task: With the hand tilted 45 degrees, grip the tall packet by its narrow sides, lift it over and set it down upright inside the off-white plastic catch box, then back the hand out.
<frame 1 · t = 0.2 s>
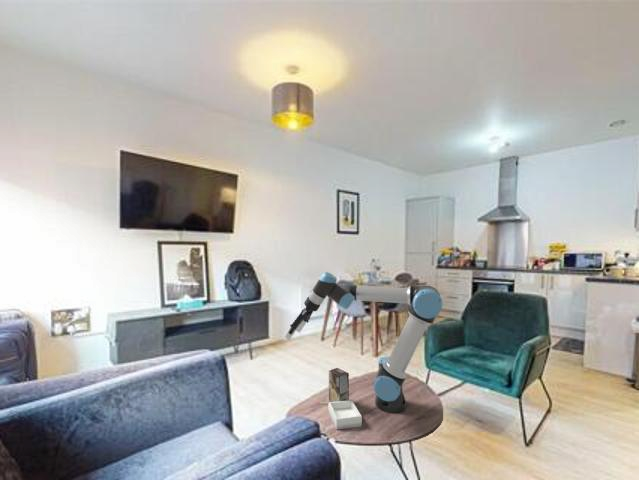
hand: (292, 334, 161), 35 cm above the table, tool tilted 35°, fingers open, 13 cm apart
catch box: (344, 418, 147), on the table
coffee box: (338, 404, 161), on the table
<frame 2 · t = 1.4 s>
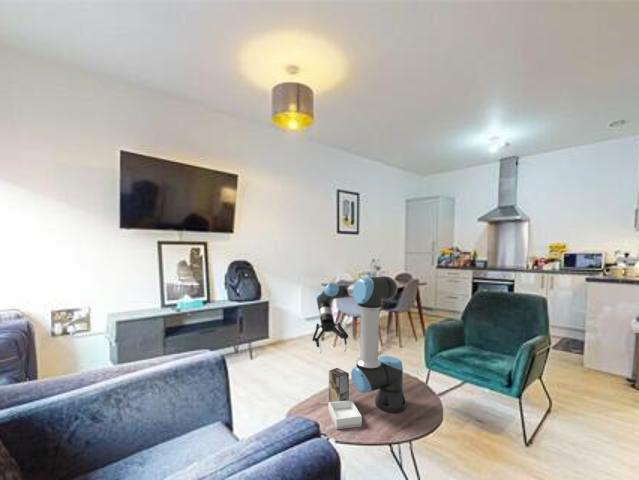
hand: (333, 351, 171), 23 cm above the table, tool tilted 45°, fingers open, 13 cm apart
nothing on the table moved.
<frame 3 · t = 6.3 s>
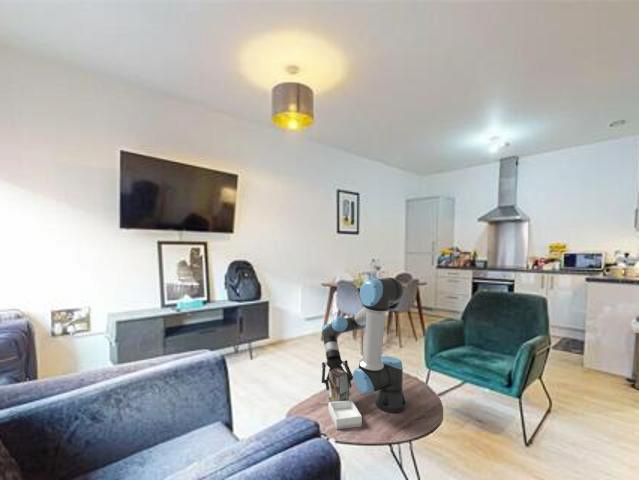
hand: (340, 395, 158), 6 cm above the table, tool tilted 45°, fingers closed on coffee box, 9 cm apart
coffee box: (338, 404, 161), on the table, touching gripper
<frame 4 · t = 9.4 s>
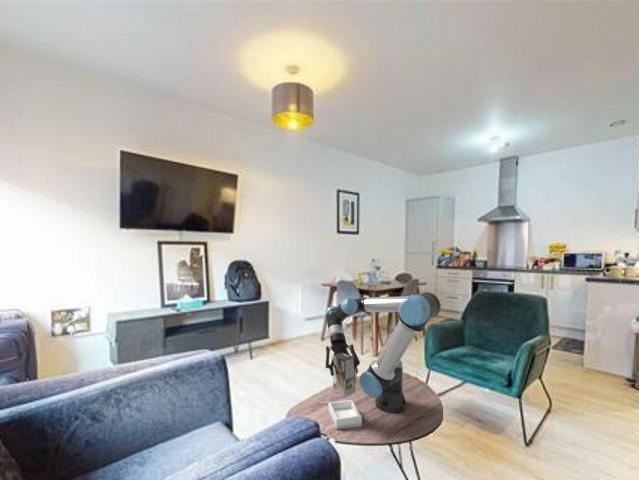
hand: (346, 381, 144), 18 cm above the table, tool tilted 45°, fingers closed on coffee box, 9 cm apart
coffee box: (344, 391, 148), point 13 cm above the table, touching gripper
when the fingers open (8 cm above the table, at t = 12.5 s): coffee box drops 1 cm, resting on catch box.
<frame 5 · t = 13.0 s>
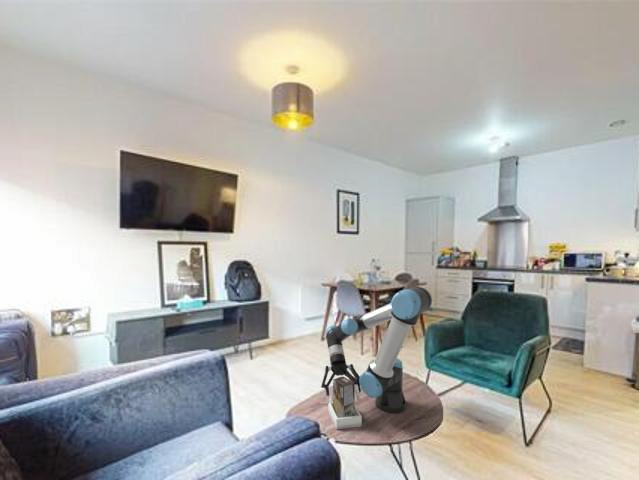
hand: (345, 401, 145), 9 cm above the table, tool tilted 45°, fingers open, 12 cm apart
coffee box: (343, 416, 148), point 1 cm above the table, touching catch box
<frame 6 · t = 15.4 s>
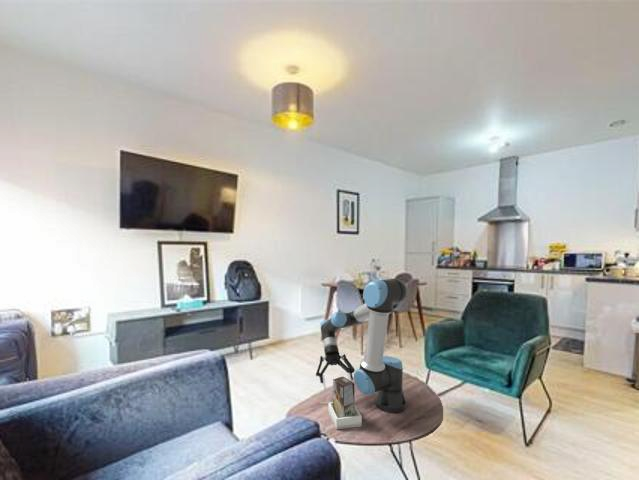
hand: (338, 388, 158), 9 cm above the table, tool tilted 45°, fingers open, 13 cm apart
nothing on the table moved.
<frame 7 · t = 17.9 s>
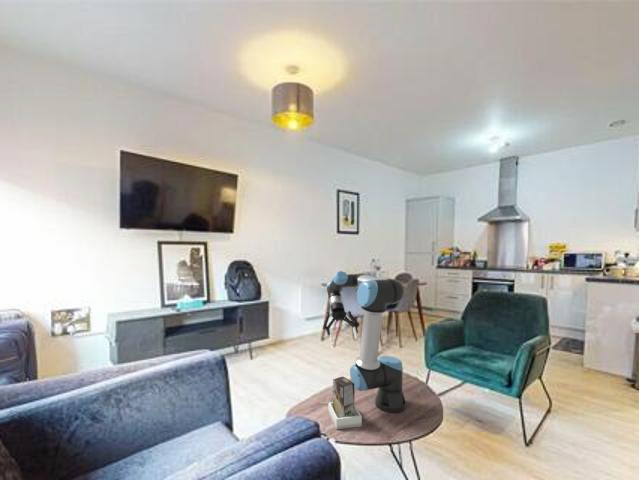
hand: (344, 339, 169), 30 cm above the table, tool tilted 45°, fingers open, 13 cm apart
nothing on the table moved.
at the end: coffee box inside the target area on the catch box (0.4 cm from its centre), point 1.0 cm above the catch box's base; coffee box tilted 0°; the gripper is holding nothing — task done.
